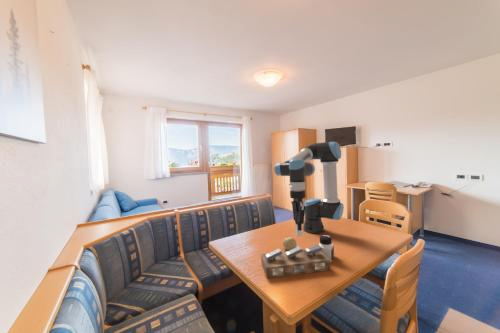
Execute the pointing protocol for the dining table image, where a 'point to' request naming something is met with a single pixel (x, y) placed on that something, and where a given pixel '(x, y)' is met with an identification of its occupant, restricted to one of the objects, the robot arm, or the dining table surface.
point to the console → (295, 264)
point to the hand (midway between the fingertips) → (299, 235)
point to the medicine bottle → (327, 246)
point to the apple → (289, 243)
